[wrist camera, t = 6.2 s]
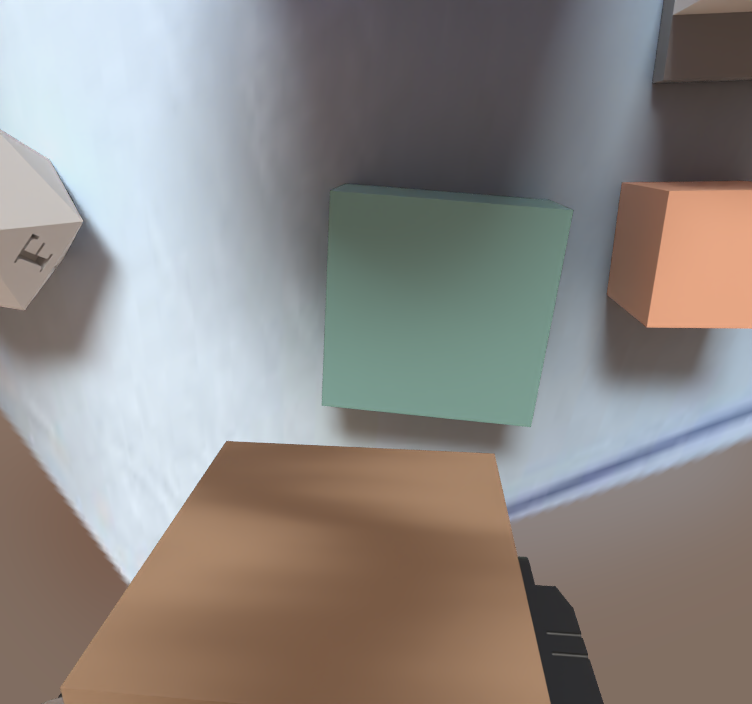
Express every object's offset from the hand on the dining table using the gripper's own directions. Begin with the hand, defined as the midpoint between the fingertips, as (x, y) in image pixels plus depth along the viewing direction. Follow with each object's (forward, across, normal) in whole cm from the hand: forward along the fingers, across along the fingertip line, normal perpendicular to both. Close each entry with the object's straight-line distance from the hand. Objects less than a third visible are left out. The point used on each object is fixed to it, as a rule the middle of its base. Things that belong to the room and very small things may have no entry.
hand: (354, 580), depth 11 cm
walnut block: (+1, 0, 0) cm, 1 cm away
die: (+19, +20, -5) cm, 28 cm away
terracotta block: (+19, -13, -4) cm, 24 cm away
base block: (+19, -2, -1) cm, 20 cm away
